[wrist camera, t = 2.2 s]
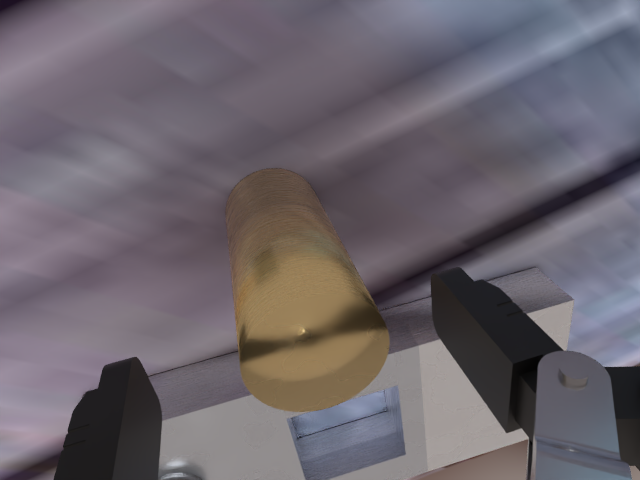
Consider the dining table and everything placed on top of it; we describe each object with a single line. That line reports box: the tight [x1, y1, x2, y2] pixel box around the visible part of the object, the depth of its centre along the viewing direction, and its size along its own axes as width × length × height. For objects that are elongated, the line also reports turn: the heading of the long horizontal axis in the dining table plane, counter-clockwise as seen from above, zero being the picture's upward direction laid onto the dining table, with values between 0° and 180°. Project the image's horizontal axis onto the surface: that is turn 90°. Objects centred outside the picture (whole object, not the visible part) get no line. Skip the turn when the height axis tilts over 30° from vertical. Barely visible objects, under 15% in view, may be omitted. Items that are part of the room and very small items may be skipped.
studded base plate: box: [82, 267, 574, 480], centre depth 24 cm, size 24×10×4 cm, turn 99°
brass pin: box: [226, 168, 390, 412], centre depth 16 cm, size 4×4×9 cm
